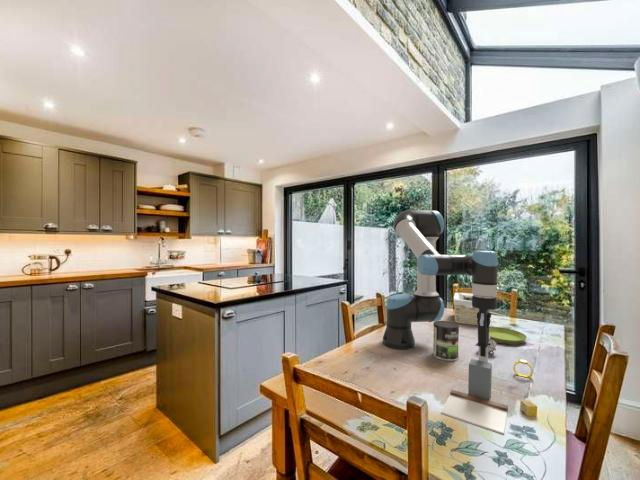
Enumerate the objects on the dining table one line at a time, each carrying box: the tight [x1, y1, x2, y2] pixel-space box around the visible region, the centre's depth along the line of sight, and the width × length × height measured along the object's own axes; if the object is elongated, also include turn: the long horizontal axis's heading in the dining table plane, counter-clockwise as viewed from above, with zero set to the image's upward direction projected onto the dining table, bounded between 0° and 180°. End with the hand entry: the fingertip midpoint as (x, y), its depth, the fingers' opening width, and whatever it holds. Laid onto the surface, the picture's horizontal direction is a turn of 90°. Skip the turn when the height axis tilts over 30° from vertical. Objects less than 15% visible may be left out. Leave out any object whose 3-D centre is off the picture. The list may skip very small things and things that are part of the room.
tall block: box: [467, 358, 493, 401], centre depth 98 cm, size 6×5×11 cm
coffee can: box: [432, 320, 460, 362], centre depth 131 cm, size 10×10×14 cm
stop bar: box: [449, 389, 509, 413], centre depth 95 cm, size 16×2×1 cm, turn 54°
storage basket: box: [453, 292, 479, 326], centre depth 187 cm, size 24×16×15 cm
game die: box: [474, 336, 499, 354], centre depth 135 cm, size 9×8×10 cm
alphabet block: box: [519, 399, 538, 417], centre depth 90 cm, size 3×3×3 cm
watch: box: [512, 359, 534, 378], centre depth 113 cm, size 6×3×6 cm, turn 59°
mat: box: [440, 394, 508, 435], centre depth 89 cm, size 16×12×1 cm
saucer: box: [489, 326, 528, 345], centre depth 154 cm, size 21×21×3 cm
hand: (483, 364), depth 103 cm, fingers closed
